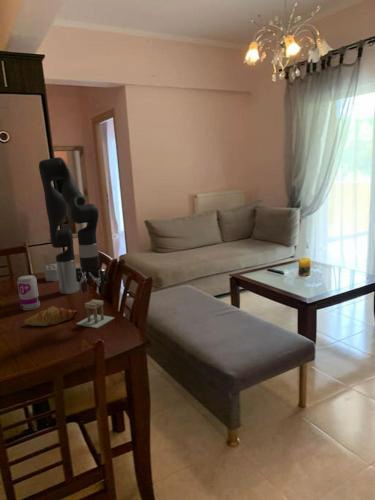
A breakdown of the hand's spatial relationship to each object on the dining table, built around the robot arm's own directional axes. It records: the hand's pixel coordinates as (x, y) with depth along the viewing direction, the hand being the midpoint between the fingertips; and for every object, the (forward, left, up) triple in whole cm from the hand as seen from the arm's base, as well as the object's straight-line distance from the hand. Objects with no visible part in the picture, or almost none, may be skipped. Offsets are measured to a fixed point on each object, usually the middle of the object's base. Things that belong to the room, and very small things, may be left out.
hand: (93, 293), depth 153 cm
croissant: (+7, -18, -13) cm, 23 cm away
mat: (0, 0, -12) cm, 12 cm away
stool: (0, 0, -12) cm, 12 cm away
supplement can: (-2, -41, -13) cm, 43 cm away
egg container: (-43, -69, -13) cm, 82 cm away
